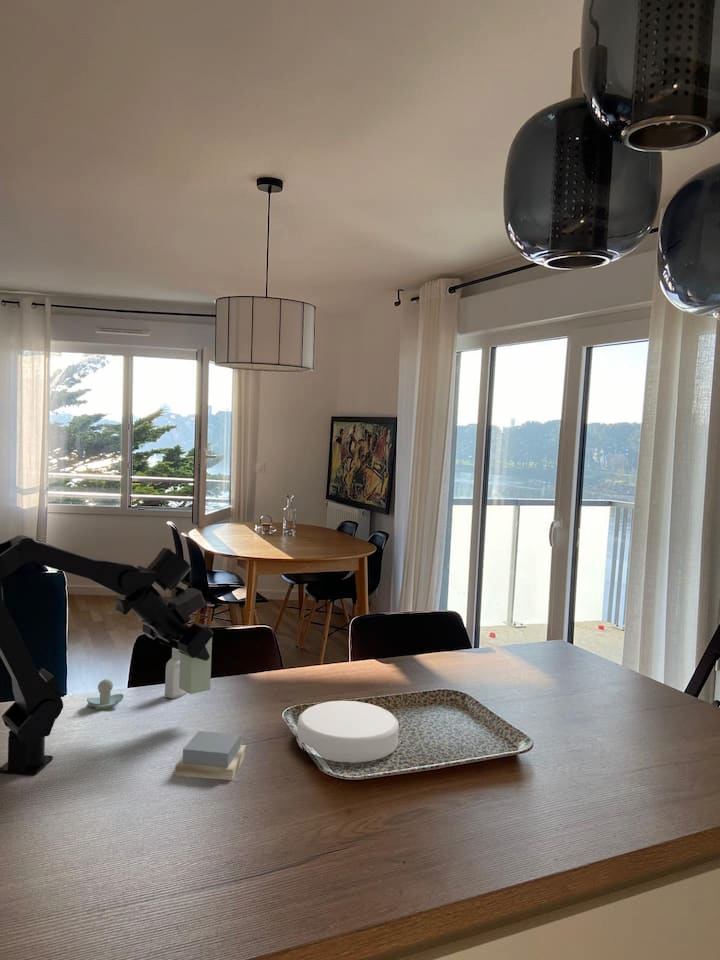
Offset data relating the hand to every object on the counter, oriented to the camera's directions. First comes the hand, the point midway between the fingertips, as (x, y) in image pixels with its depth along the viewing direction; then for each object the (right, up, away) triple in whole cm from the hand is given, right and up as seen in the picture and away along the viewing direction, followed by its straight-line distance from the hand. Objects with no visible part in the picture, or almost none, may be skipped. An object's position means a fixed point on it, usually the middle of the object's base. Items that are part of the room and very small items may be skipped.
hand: (201, 655), depth 147 cm
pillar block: (-1, -7, -1) cm, 7 cm away
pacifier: (-22, -12, +6) cm, 26 cm away
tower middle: (+6, -13, -19) cm, 24 cm away
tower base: (+6, -16, -18) cm, 25 cm away
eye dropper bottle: (-9, -12, +15) cm, 21 cm away
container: (+30, -16, -5) cm, 34 cm away
